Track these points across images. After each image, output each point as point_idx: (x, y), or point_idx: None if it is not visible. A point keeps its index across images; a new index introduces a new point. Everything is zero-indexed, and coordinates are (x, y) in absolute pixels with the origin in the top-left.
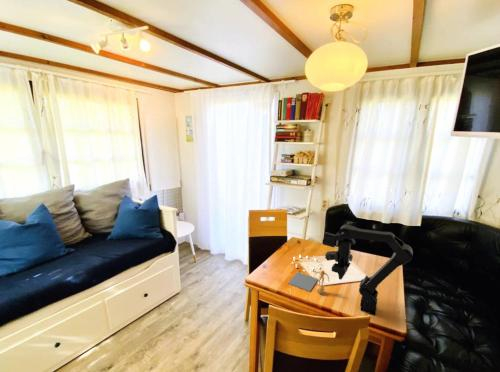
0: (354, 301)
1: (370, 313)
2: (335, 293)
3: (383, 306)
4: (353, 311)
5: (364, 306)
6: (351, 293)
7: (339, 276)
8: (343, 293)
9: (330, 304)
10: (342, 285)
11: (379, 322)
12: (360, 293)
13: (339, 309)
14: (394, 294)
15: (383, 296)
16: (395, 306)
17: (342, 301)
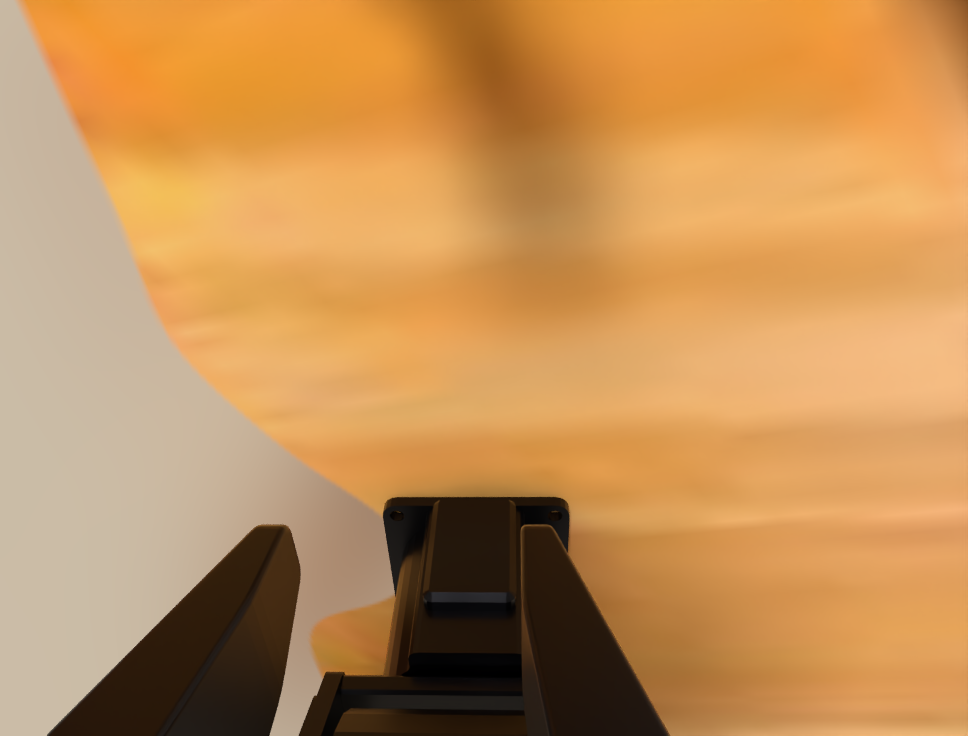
0: (537, 411)
1: (395, 586)
2: (576, 97)
3: (643, 651)
4: (297, 436)
5: (406, 574)
6: (738, 340)
7: (174, 643)
8: (665, 230)
9: (164, 116)
10: (961, 145)
11: (330, 641)
12: (341, 722)
13: (174, 279)
14: (960, 708)
15: (862, 641)
16: (711, 718)
17: (411, 270)
